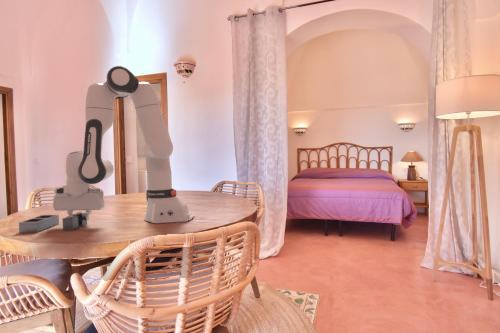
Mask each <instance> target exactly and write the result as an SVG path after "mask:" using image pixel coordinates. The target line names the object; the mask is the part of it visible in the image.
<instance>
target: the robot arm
mask: <svg viewBox="0 0 500 333" xmlns="http://www.w3.org/2000/svg"><path fill="white" fill-rule="evenodd" d="M128 97H129V98H130V99H131V101H132V103H133V107H134V109H135V110H134V111H135V113H136V116H137V121H138V125H139V127H140V130H141V134H142V136H143V139H144V143H145V145H144V146H145V147H144V151H145V152H144V153H145V167H146V188H147V189H146V195H145V196H146V197H145V198H146V211H145V216H144V221H145V222H150V223H152V224H163V223H165V224H166V223H181V222H188V220H189V221H191V220H193V219H194V213H192V212H190V210H189V206H188V203H186V202H185V201H183V200H182V199H181V198H180V197H178V196H177V189H174V188H172V187H173V186H172V185H173V184H172V182H173V181H172V180H173V179H172V168H171V162H170V160H171V159H170V157H171V156H172V154H173V151H174V146H173V142H172V139H171V136H170V133H169V131H168V128H167V125H166V123H165V120H164V117H163V116H164V115H163V112H162V108H161V105H160V100H159V98H158V96H157V93H156V90H155V89H154V87H153V85H152V84H151V83H149V82H146V81H141V82H140V80H139V79H138V78H137V77H136V75H134V73H133V72H132V71H130V69H129V68H127V67H125V66H123V65H122V66H121V65H115V66H113V67H111V68H110V69H109V70H108V72H107V74H106V81H105V82H102V83H100V82H97V83H92V84H90V85H89V86H88V87H87V92H86V96H85V106H84V107H85V110H84V111H85V129H84V142H83V143H84V144H83V150H80V151H79V150H78V151H73V152H70V153H68V154H67V156H66V158H65V159H66V160H65V173H66V184H65V185H63V186H61V187H58V188H55V189H54V191H53V193H54V196H53V199H52V200H53V201H52V208H53V210H54V211H56V212H58V211H60V212H61V211H63V212H64V211H67V213H66V214H67V216H72V215H73V214H74V213H73V212H74V211H85V213H87V214H86V216H84V220H87V221H89V220H90V215H91V214H92V211H101V210H103V209H104V208H105V199H104V191H103V189H101V188H99V187H97V188H91V185H96V184H98V183H101V182H102V181H104V180H105V181H106V180H107V179H109V178H110V177H111V176H112V175H113V173H114V166H113V164H112V162H111V161H109V160H108V159H106V158H102V149H103V148H102V147H103V139H104V138H103V137H104V135H105V133H106V132H107V131H109V129H110V128H112V126H113V124H114V118H115V100H118V99H124V98H128ZM192 218H193V219H192Z"/></svg>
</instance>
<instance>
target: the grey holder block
mask: <svg viewBox="0 0 500 333" xmlns="http://www.w3.org/2000/svg"><path fill="white" fill-rule="evenodd" d="M59 216H60V215H59V214H41V215H39V216H38V215H37V216H35V217H33V218H28V219H26V220H23V221H19V222H18V230H19V231H18V232H19V233H22V234H23V233H38V232H42V231H44V230H46V229H49V228H51V227H54V226H56V225H57V226H58V225H60V217H59Z"/></svg>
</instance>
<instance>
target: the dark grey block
mask: <svg viewBox="0 0 500 333" xmlns="http://www.w3.org/2000/svg"><path fill="white" fill-rule="evenodd" d="M61 220H62V231H63V232H65V231H66V232H69V231H70V232H71V231H75V230H78V229H79V226H78V216H69V215H67V216H65V217H63V218H62V219H61Z"/></svg>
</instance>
